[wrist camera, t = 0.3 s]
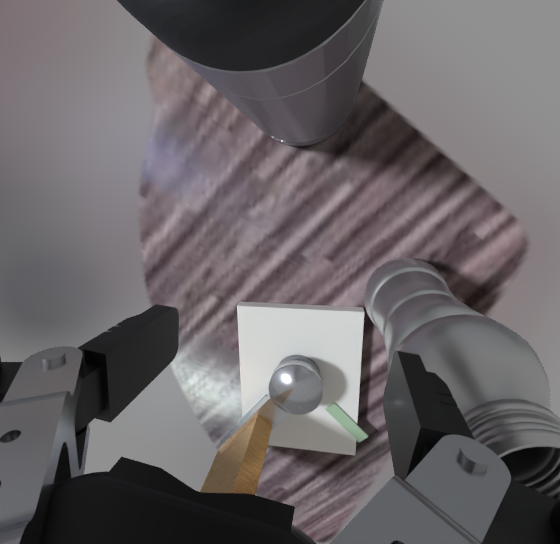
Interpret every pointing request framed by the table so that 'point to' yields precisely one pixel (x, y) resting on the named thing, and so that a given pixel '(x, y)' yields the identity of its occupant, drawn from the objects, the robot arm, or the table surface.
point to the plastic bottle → (472, 367)
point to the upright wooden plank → (263, 428)
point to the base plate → (316, 351)
